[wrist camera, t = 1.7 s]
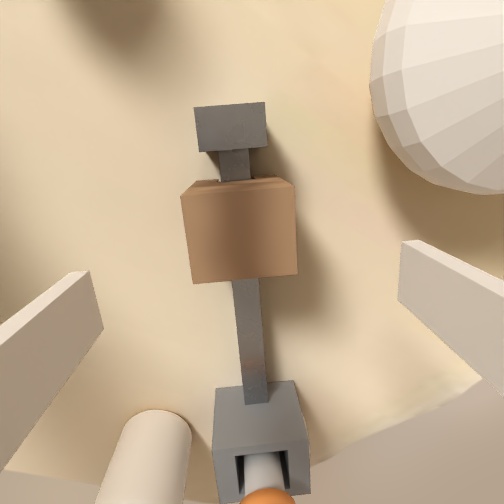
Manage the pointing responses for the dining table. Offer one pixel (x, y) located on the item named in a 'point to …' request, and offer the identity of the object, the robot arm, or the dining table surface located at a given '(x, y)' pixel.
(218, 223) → the carriage
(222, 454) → the housing
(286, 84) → the dining table surface
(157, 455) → the beverage can
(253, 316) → the rail
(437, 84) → the vase
